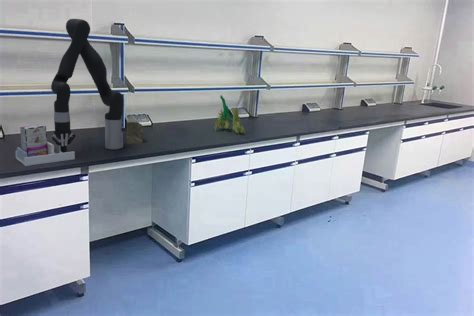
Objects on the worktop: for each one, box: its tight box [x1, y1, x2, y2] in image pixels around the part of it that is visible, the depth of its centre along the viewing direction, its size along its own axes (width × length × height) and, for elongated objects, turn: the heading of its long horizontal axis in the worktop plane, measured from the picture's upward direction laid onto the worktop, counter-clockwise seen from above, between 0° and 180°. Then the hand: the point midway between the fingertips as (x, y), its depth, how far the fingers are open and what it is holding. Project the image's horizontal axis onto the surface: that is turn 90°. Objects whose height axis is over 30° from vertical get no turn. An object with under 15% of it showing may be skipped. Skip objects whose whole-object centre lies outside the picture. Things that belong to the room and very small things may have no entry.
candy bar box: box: [19, 123, 48, 157], centre depth 202 cm, size 11×5×16 cm, turn 148°
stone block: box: [125, 118, 144, 145], centre depth 253 cm, size 10×15×15 cm
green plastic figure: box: [213, 94, 246, 135], centre depth 297 cm, size 26×17×30 cm, turn 52°
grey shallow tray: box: [15, 145, 76, 167], centre depth 206 cm, size 24×14×6 cm, turn 134°
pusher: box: [47, 140, 60, 155], centre depth 208 cm, size 5×12×7 cm, turn 44°
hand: (63, 152), depth 213 cm, fingers closed
